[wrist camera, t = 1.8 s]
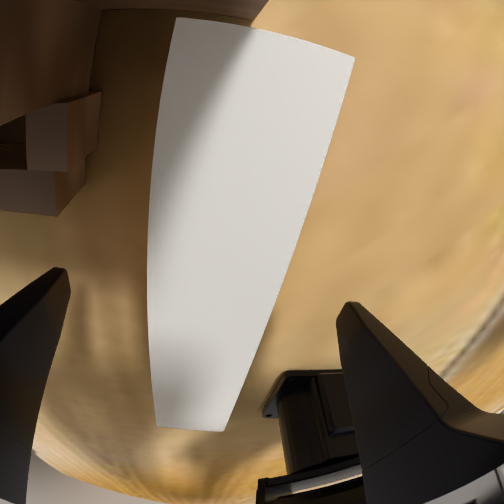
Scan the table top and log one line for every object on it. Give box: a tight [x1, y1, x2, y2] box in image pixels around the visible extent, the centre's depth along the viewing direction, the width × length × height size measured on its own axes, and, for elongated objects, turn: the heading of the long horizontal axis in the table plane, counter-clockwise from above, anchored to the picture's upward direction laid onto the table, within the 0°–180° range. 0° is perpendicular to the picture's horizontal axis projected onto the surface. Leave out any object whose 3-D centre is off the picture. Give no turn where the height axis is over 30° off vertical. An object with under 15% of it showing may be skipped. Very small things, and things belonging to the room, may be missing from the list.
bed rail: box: [147, 17, 355, 432], centre depth 10 cm, size 14×3×5 cm, turn 168°
